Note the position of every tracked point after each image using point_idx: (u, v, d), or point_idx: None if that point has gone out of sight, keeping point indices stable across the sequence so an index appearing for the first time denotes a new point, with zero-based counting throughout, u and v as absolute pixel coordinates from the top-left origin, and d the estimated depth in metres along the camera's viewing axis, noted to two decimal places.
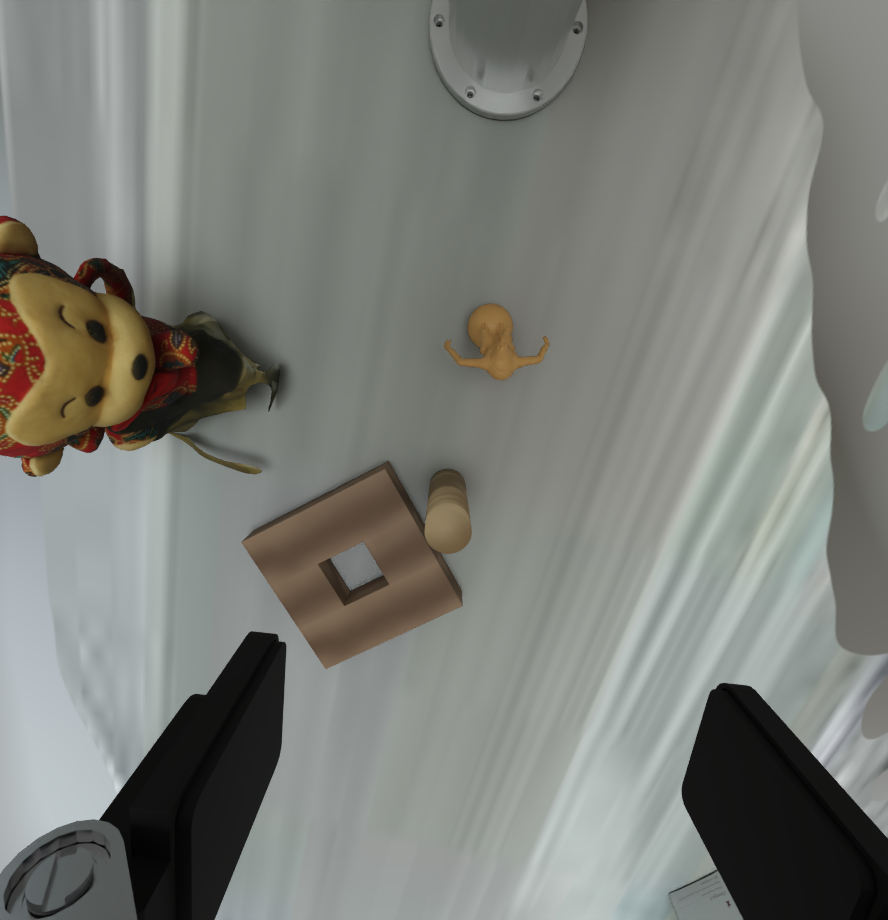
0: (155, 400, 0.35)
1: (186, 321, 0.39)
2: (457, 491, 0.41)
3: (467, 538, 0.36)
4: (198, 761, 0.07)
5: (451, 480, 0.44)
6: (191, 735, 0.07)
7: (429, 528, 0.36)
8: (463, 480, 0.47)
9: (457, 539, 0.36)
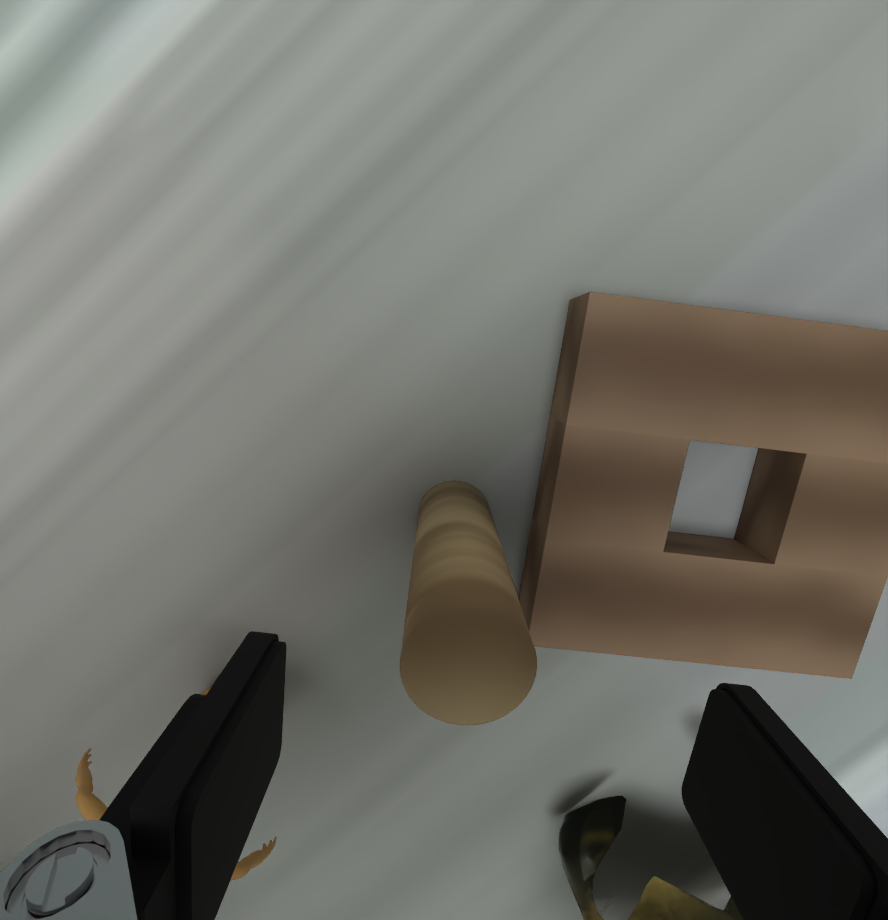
0: None
1: None
2: None
3: (433, 623, 0.12)
4: (199, 762, 0.07)
5: None
6: (191, 735, 0.07)
7: (504, 700, 0.13)
8: None
9: (459, 634, 0.12)
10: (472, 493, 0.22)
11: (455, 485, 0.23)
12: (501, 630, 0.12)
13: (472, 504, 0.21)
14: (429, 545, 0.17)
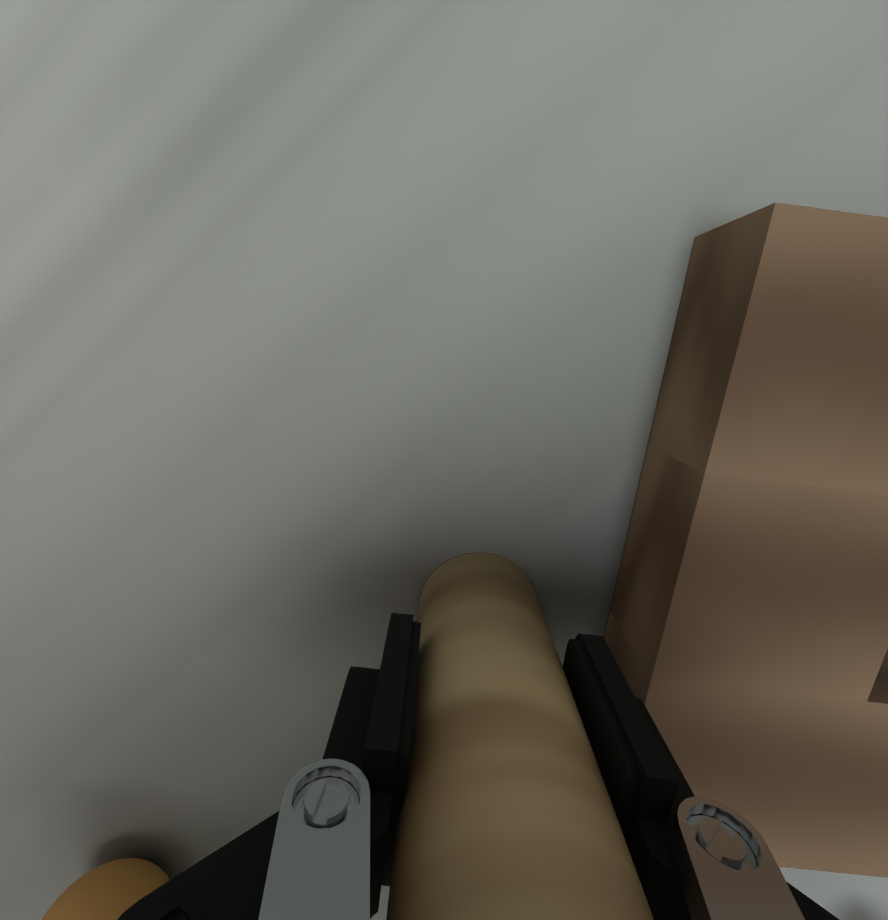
0: None
1: None
2: None
3: None
4: (401, 715, 0.08)
5: None
6: (385, 695, 0.08)
7: None
8: (417, 620, 0.14)
9: None
10: (513, 584, 0.13)
11: (483, 565, 0.13)
12: None
13: (519, 621, 0.11)
14: (437, 782, 0.07)
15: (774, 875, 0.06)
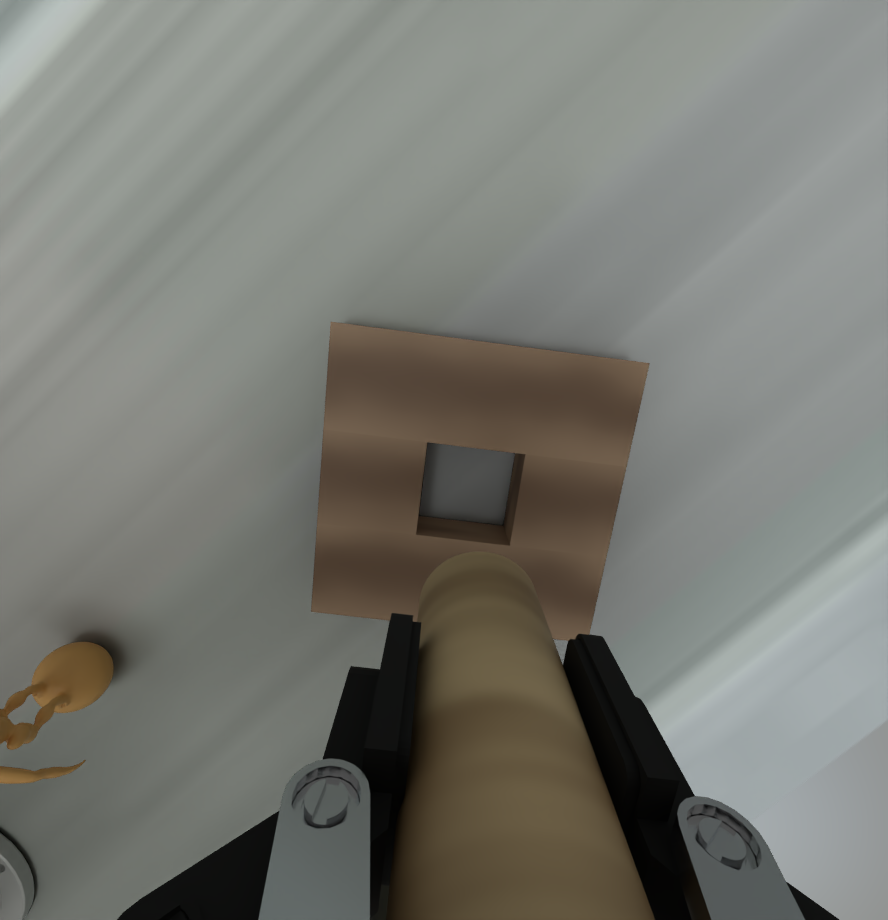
0: None
1: None
2: None
3: None
4: (401, 715, 0.08)
5: None
6: (385, 695, 0.08)
7: None
8: (417, 619, 0.14)
9: None
10: (513, 583, 0.13)
11: (483, 564, 0.13)
12: None
13: (519, 620, 0.11)
14: (437, 781, 0.07)
15: (774, 875, 0.06)
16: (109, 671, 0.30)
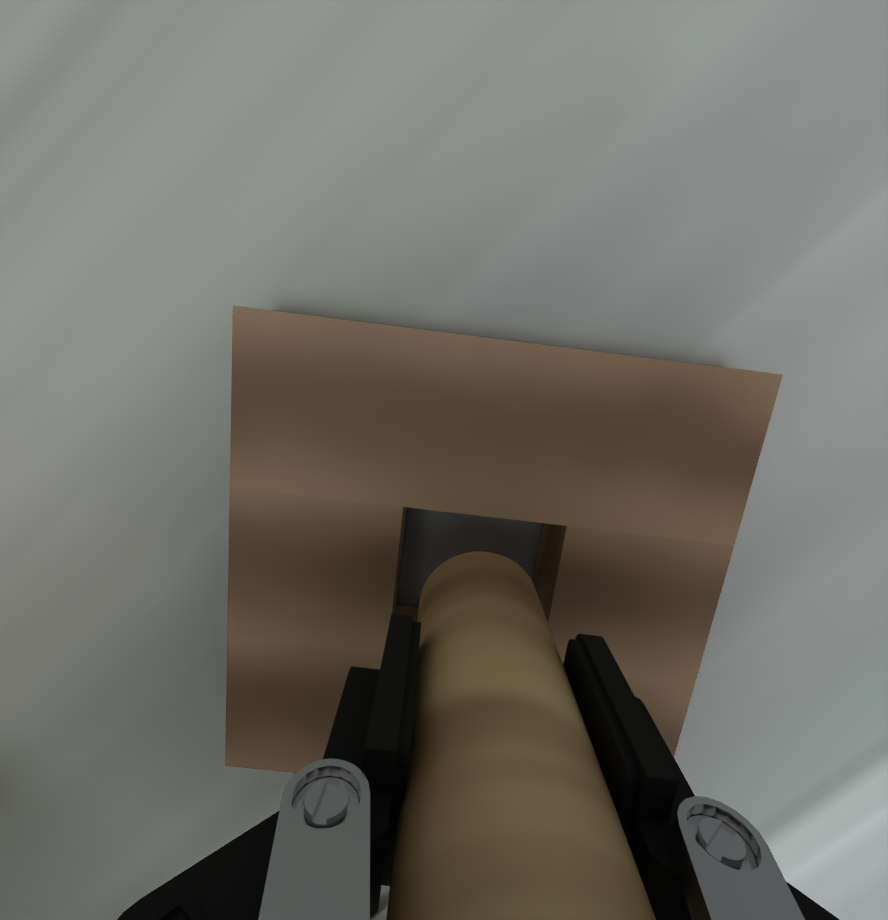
0: None
1: None
2: None
3: None
4: (401, 715, 0.08)
5: None
6: (385, 695, 0.08)
7: None
8: None
9: None
10: (513, 582, 0.13)
11: (483, 564, 0.13)
12: None
13: (519, 619, 0.11)
14: (438, 780, 0.07)
15: (774, 875, 0.06)
16: None
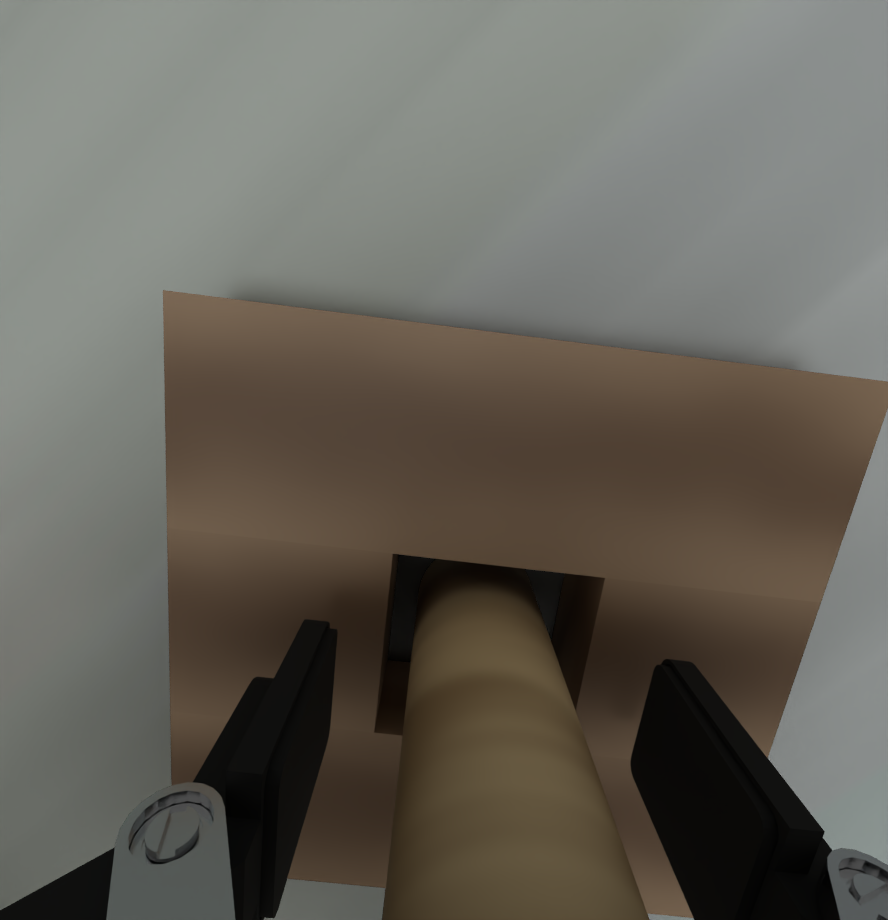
0: None
1: None
2: None
3: None
4: (280, 733, 0.07)
5: None
6: (269, 710, 0.08)
7: None
8: None
9: None
10: (508, 573, 0.13)
11: None
12: None
13: (513, 607, 0.11)
14: (434, 750, 0.08)
15: None
16: None
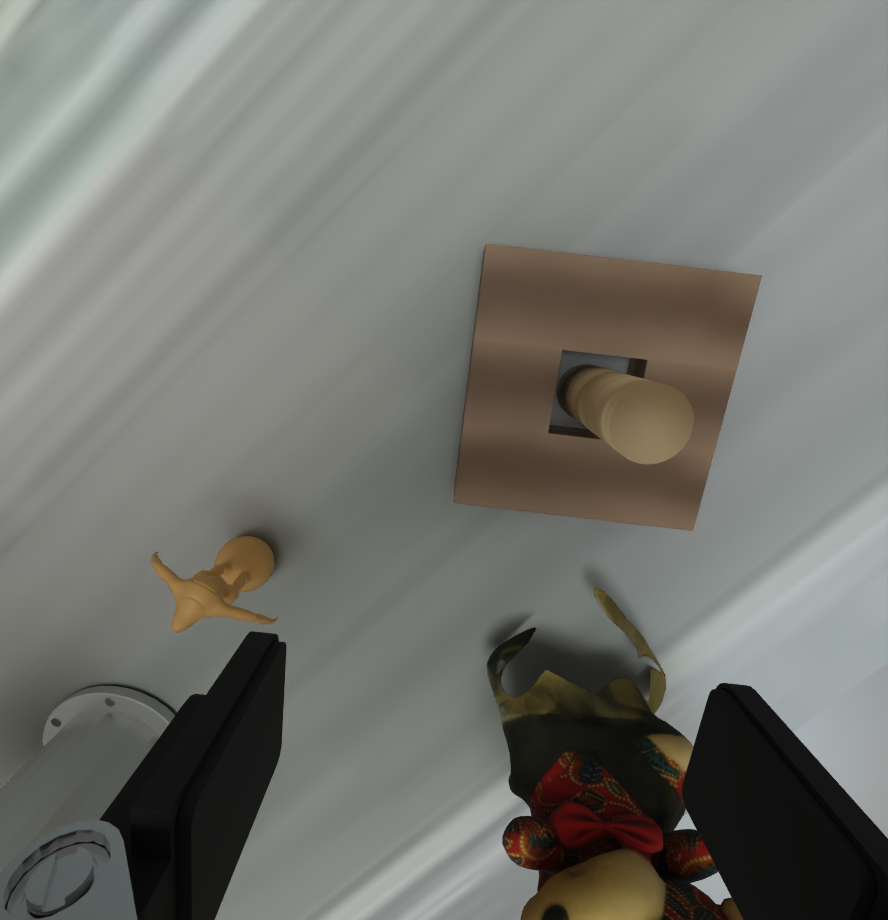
0: (603, 797, 0.27)
1: None
2: (584, 422, 0.26)
3: (633, 395, 0.21)
4: (199, 762, 0.07)
5: (576, 419, 0.29)
6: (191, 735, 0.07)
7: (672, 447, 0.21)
8: (560, 390, 0.32)
9: (648, 403, 0.21)
10: None
11: (589, 365, 0.31)
12: (674, 400, 0.21)
13: None
14: (598, 381, 0.25)
15: None
16: (273, 560, 0.35)
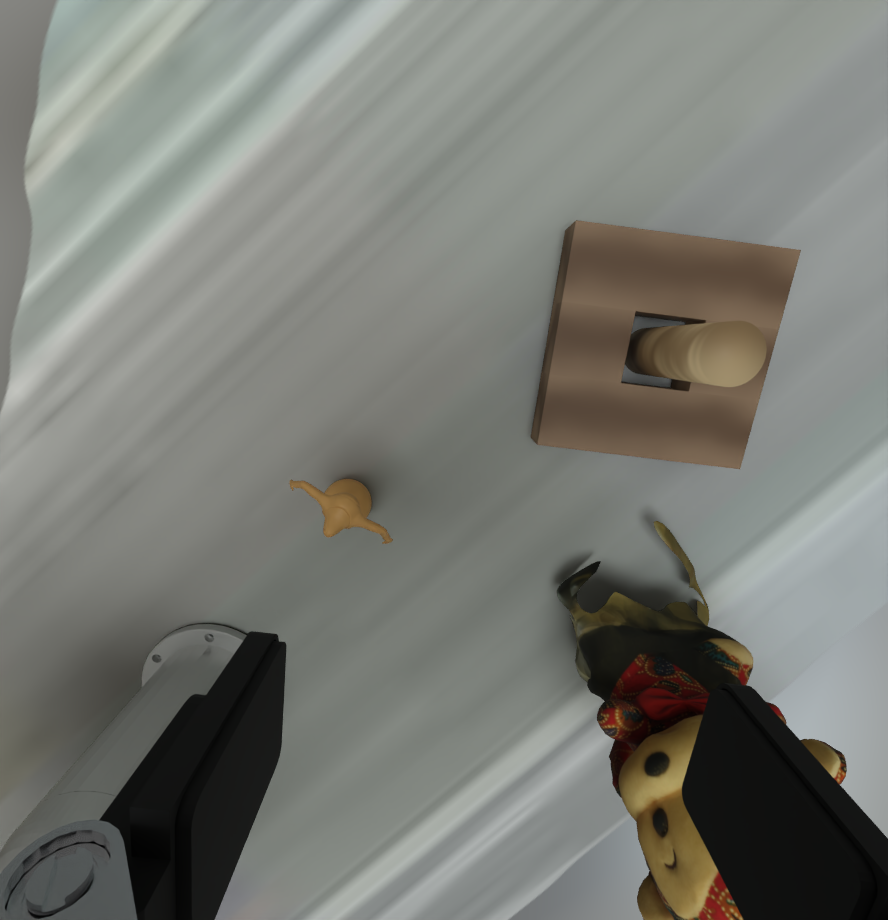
0: (678, 684, 0.32)
1: None
2: (661, 365, 0.32)
3: (720, 330, 0.26)
4: (199, 761, 0.07)
5: (647, 369, 0.34)
6: (191, 735, 0.07)
7: (748, 373, 0.27)
8: None
9: (731, 336, 0.26)
10: None
11: None
12: (751, 334, 0.26)
13: None
14: (676, 330, 0.31)
15: None
16: (371, 501, 0.39)
